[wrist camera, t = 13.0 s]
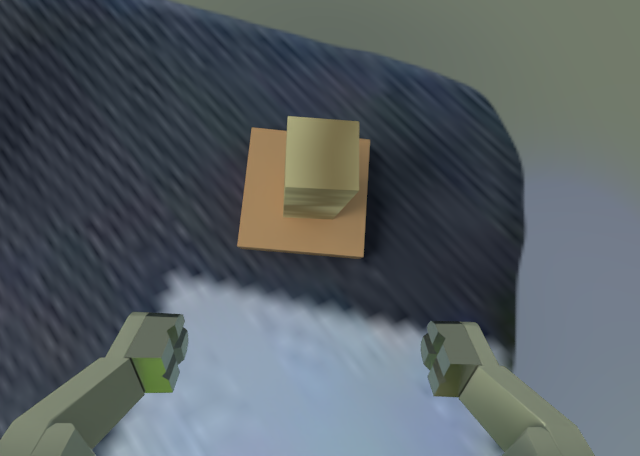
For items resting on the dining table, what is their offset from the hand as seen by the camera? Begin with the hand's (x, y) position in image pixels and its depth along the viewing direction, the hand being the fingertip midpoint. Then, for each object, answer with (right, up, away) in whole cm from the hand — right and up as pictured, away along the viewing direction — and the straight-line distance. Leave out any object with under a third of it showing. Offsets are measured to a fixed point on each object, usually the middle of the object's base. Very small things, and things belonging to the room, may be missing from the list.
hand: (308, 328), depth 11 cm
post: (-1, +6, +16) cm, 17 cm away
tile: (-1, +6, +18) cm, 20 cm away
